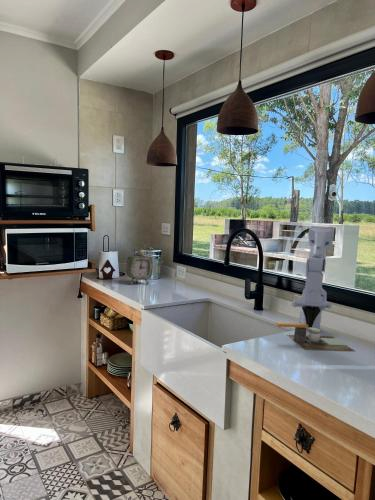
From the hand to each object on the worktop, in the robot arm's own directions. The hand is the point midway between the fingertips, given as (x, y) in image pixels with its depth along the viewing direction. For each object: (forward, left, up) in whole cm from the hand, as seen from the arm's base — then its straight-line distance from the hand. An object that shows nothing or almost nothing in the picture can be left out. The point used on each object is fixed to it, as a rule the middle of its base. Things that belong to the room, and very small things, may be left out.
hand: (309, 326), depth 135 cm
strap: (0, -7, 0) cm, 7 cm away
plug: (0, +2, -6) cm, 6 cm away
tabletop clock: (-102, -62, -7) cm, 119 cm away
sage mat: (-1, +11, -6) cm, 12 cm away
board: (0, +5, -7) cm, 8 cm away
